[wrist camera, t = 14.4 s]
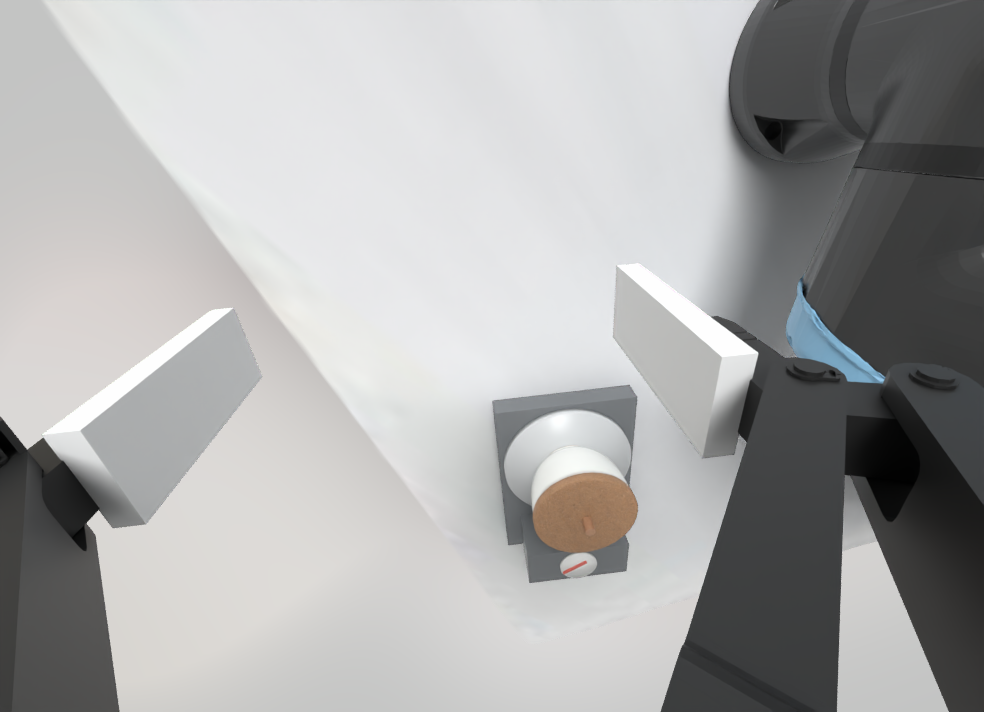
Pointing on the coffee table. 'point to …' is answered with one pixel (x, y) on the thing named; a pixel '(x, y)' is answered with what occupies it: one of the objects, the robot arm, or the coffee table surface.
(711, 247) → the coffee table surface
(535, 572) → the scale
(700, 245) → the coffee table surface
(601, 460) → the lidded jar
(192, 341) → the robot arm
